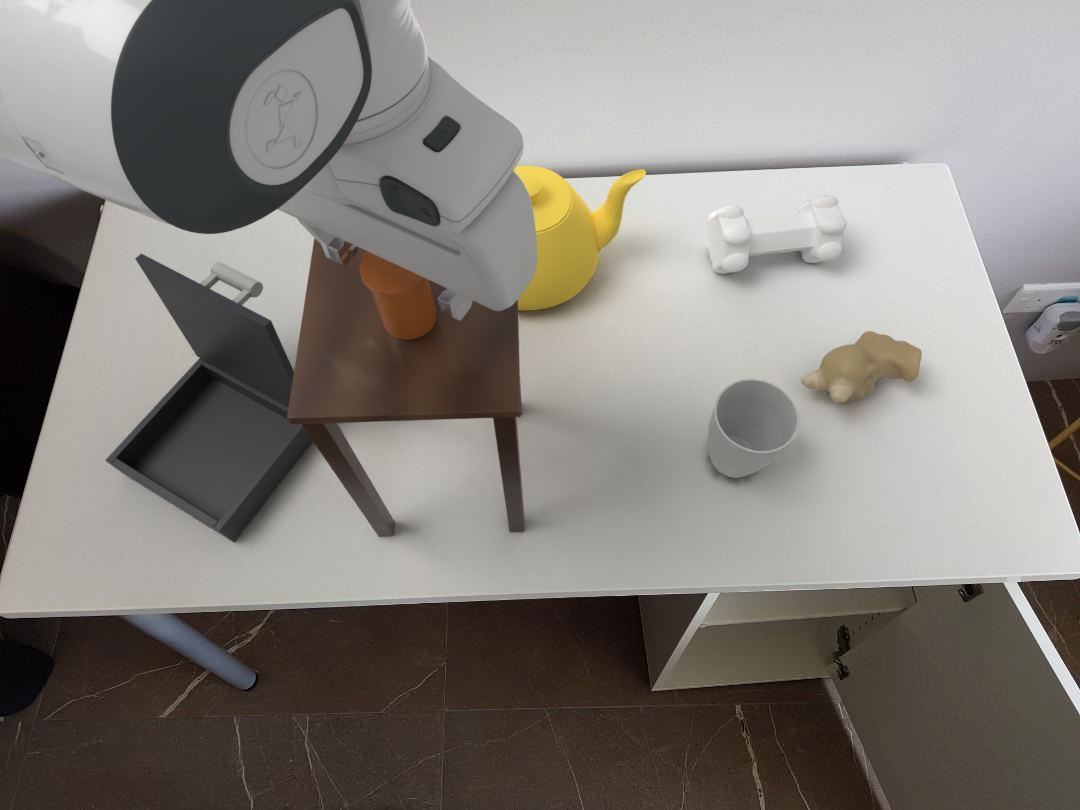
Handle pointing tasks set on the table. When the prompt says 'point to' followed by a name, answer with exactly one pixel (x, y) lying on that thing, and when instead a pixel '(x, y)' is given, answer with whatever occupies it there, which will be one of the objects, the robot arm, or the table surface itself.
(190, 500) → the hinged lid box
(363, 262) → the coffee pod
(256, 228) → the table surface
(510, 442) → the shelf legs
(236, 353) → the lid
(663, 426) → the table surface
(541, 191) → the teapot
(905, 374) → the tan lumpy rounded piece
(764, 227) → the bone shaped toy
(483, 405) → the shelf top
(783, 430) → the cup
